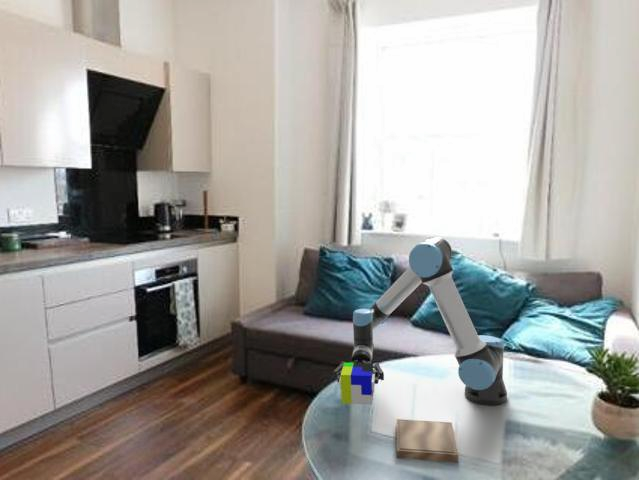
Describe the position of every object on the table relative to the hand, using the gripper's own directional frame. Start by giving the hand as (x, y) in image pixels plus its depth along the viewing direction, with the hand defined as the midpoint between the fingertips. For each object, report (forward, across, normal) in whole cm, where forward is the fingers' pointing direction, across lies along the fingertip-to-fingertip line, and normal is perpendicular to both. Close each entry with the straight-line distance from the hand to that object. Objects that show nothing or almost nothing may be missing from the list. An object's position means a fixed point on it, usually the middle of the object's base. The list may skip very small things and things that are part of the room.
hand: (356, 385), depth 157 cm
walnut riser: (+5, -22, -16) cm, 28 cm away
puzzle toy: (-4, 0, -6) cm, 8 cm away
